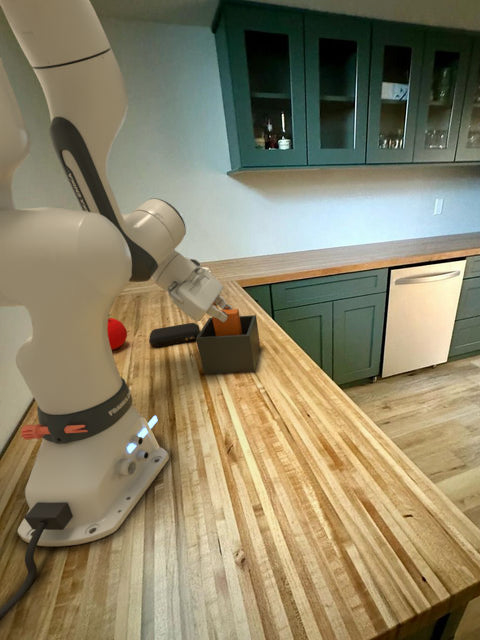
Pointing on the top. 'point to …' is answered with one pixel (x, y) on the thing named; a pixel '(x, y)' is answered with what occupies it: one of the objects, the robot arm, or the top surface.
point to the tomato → (116, 333)
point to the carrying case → (174, 334)
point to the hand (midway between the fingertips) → (228, 315)
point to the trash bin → (229, 348)
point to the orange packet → (228, 324)
